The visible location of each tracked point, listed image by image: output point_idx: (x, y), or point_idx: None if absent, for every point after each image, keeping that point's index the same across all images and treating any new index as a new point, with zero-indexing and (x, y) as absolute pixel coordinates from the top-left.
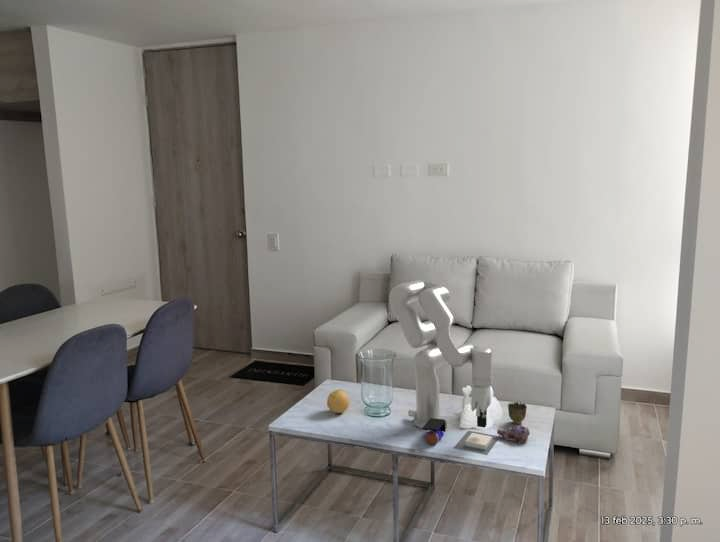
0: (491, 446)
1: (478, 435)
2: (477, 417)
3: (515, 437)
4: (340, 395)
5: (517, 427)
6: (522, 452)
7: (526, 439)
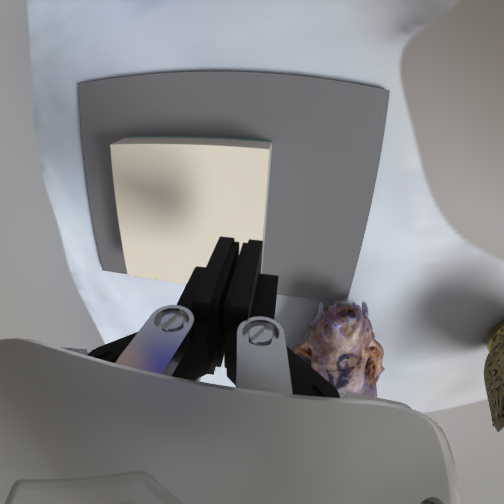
0: None
1: (239, 207)
2: (193, 296)
3: None
4: None
5: None
6: (218, 379)
7: None
